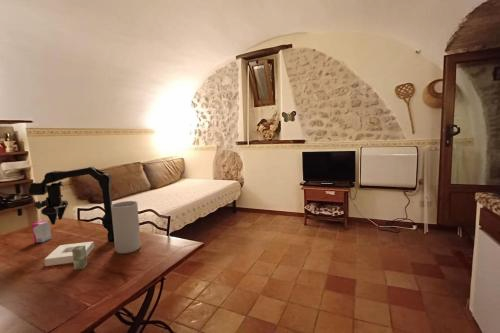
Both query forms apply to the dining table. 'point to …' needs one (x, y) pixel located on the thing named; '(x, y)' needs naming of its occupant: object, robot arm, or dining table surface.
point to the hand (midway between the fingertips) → (56, 222)
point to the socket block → (66, 253)
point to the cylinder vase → (126, 226)
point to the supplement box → (41, 231)
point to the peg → (79, 257)
